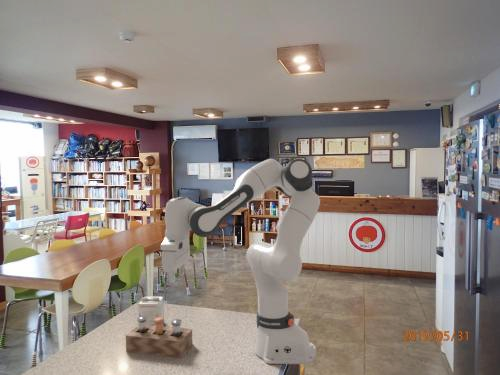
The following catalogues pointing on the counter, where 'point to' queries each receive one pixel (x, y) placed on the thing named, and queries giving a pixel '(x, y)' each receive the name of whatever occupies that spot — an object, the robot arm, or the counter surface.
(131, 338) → the block
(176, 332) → the grey plug near
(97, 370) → the counter surface
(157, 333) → the terracotta plug
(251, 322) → the counter surface
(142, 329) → the grey plug far
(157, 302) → the ink box
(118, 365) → the counter surface
